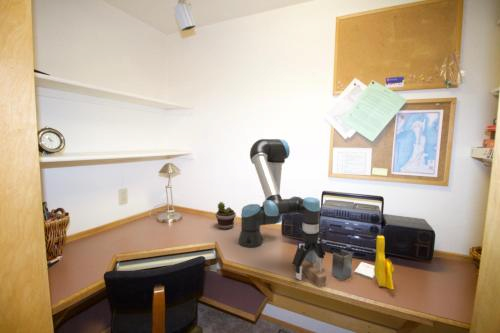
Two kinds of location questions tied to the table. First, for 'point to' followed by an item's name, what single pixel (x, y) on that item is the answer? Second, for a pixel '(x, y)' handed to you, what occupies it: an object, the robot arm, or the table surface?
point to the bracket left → (311, 256)
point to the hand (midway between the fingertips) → (308, 274)
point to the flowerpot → (225, 217)
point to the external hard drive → (365, 270)
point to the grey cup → (342, 265)
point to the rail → (313, 274)
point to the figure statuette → (383, 265)
